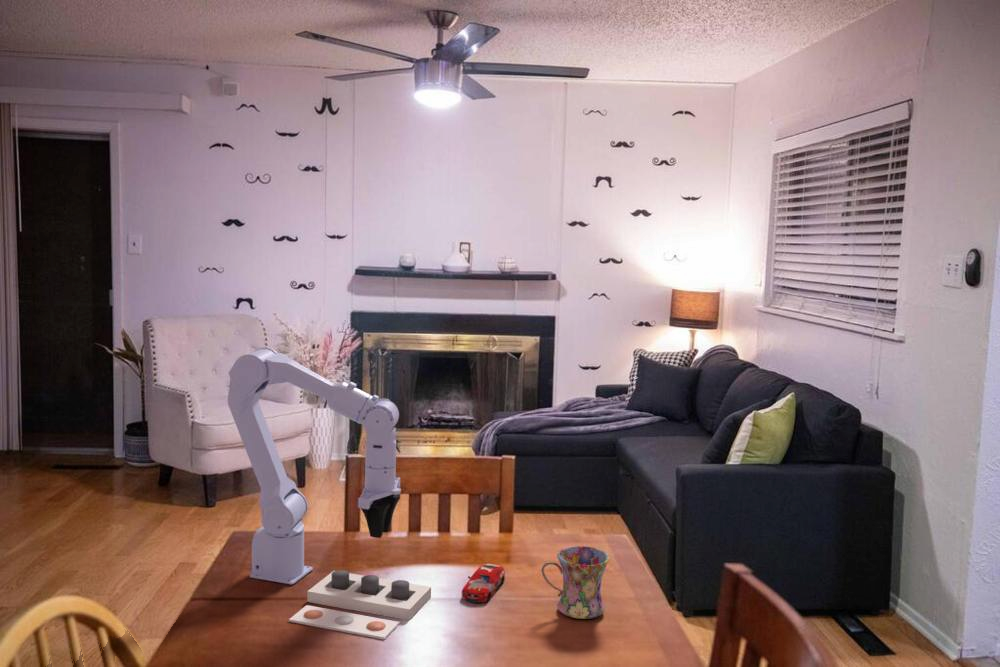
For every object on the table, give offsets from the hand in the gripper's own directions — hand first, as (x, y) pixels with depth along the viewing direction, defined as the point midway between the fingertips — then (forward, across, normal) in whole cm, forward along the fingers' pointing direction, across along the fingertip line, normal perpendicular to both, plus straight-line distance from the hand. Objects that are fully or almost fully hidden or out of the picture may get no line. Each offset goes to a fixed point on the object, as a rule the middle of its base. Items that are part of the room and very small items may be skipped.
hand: (379, 534), depth 169 cm
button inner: (+8, -8, +4) cm, 12 cm away
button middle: (+8, -8, -2) cm, 11 cm away
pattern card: (+9, -18, -2) cm, 20 cm away
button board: (+9, -8, -2) cm, 13 cm away
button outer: (+8, -8, -8) cm, 14 cm away
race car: (+10, +4, -20) cm, 23 cm away
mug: (+10, +1, -38) cm, 39 cm away
